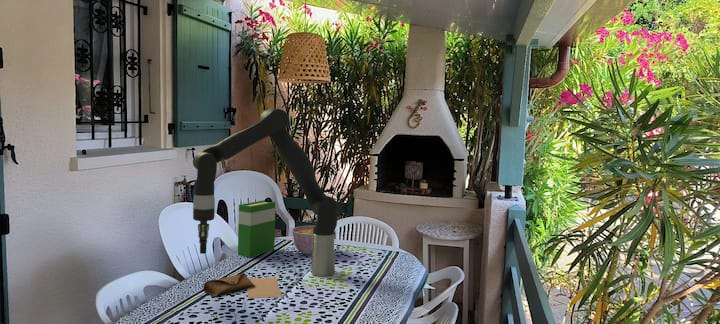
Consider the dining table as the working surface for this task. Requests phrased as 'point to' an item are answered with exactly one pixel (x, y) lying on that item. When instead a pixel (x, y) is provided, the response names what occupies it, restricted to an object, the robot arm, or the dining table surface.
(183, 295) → the dining table surface
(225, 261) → the dining table surface
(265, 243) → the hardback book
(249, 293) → the mat
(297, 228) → the bowl of food
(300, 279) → the dining table surface
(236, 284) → the sunglasses case
